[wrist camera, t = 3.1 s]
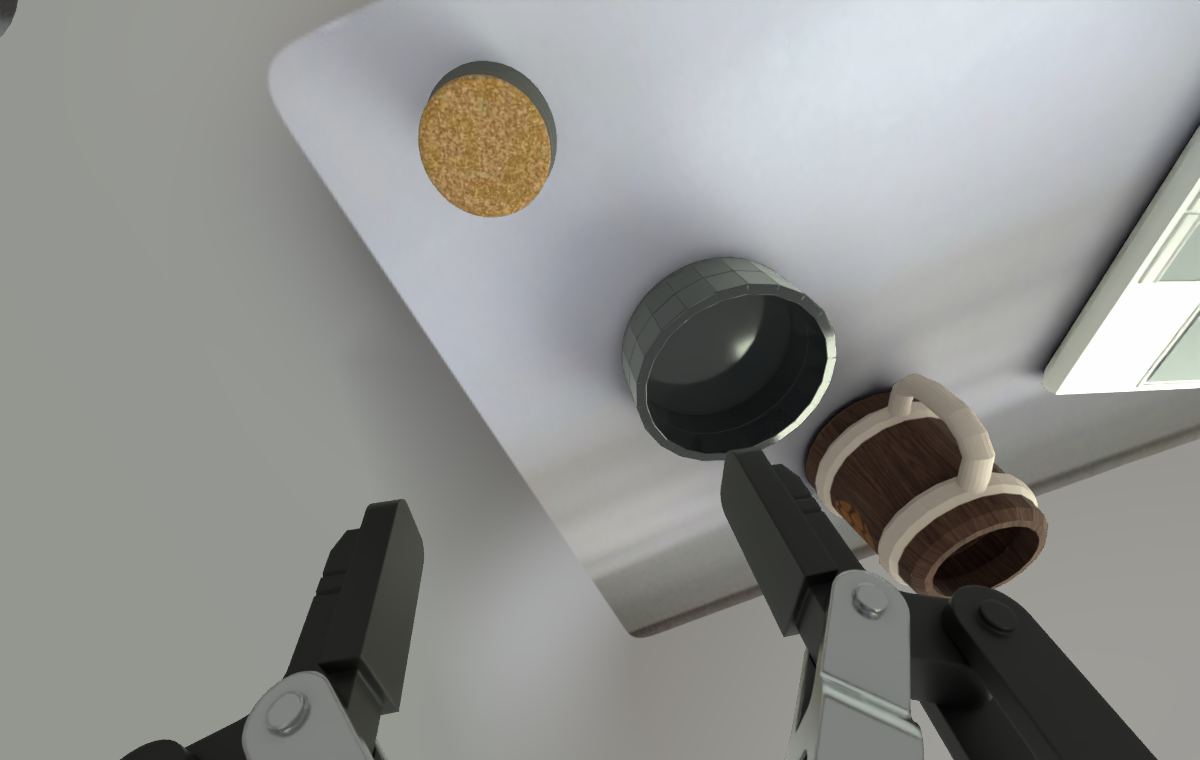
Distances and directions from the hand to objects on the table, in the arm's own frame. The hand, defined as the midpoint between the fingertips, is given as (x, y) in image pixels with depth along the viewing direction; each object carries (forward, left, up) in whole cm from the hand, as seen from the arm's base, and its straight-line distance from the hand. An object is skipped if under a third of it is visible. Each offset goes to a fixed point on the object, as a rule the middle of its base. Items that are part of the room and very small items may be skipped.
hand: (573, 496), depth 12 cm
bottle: (-1, +7, -26) cm, 27 cm away
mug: (+32, -23, -26) cm, 47 cm away
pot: (+14, -11, -26) cm, 31 cm away
